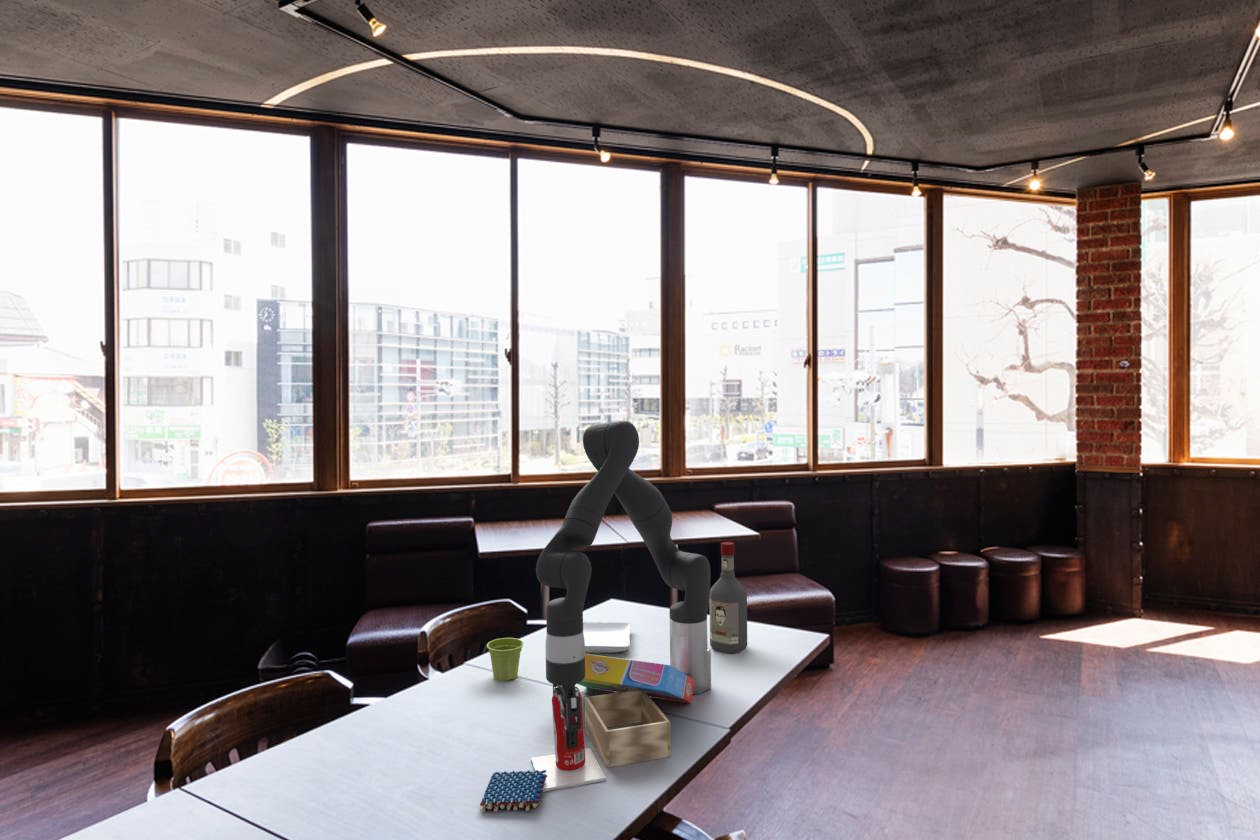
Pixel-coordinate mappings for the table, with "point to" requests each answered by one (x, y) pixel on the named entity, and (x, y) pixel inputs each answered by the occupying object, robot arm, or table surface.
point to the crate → (627, 728)
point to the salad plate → (606, 637)
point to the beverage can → (564, 757)
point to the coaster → (568, 779)
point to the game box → (637, 678)
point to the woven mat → (514, 790)
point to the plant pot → (505, 657)
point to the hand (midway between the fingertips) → (566, 737)
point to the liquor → (728, 608)
